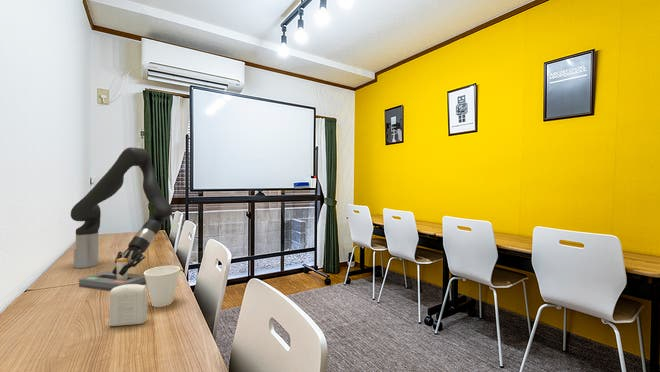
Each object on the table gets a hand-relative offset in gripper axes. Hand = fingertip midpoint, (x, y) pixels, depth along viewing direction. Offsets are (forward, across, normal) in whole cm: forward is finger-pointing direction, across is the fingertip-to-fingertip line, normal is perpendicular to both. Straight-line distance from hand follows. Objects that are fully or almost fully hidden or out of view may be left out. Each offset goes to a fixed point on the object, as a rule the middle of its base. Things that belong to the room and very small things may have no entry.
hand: (117, 274), depth 124 cm
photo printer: (+21, +34, -13) cm, 41 cm away
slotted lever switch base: (+2, -4, +5) cm, 7 cm away
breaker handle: (+2, 0, +4) cm, 5 cm away
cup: (+10, +32, -2) cm, 33 cm away
